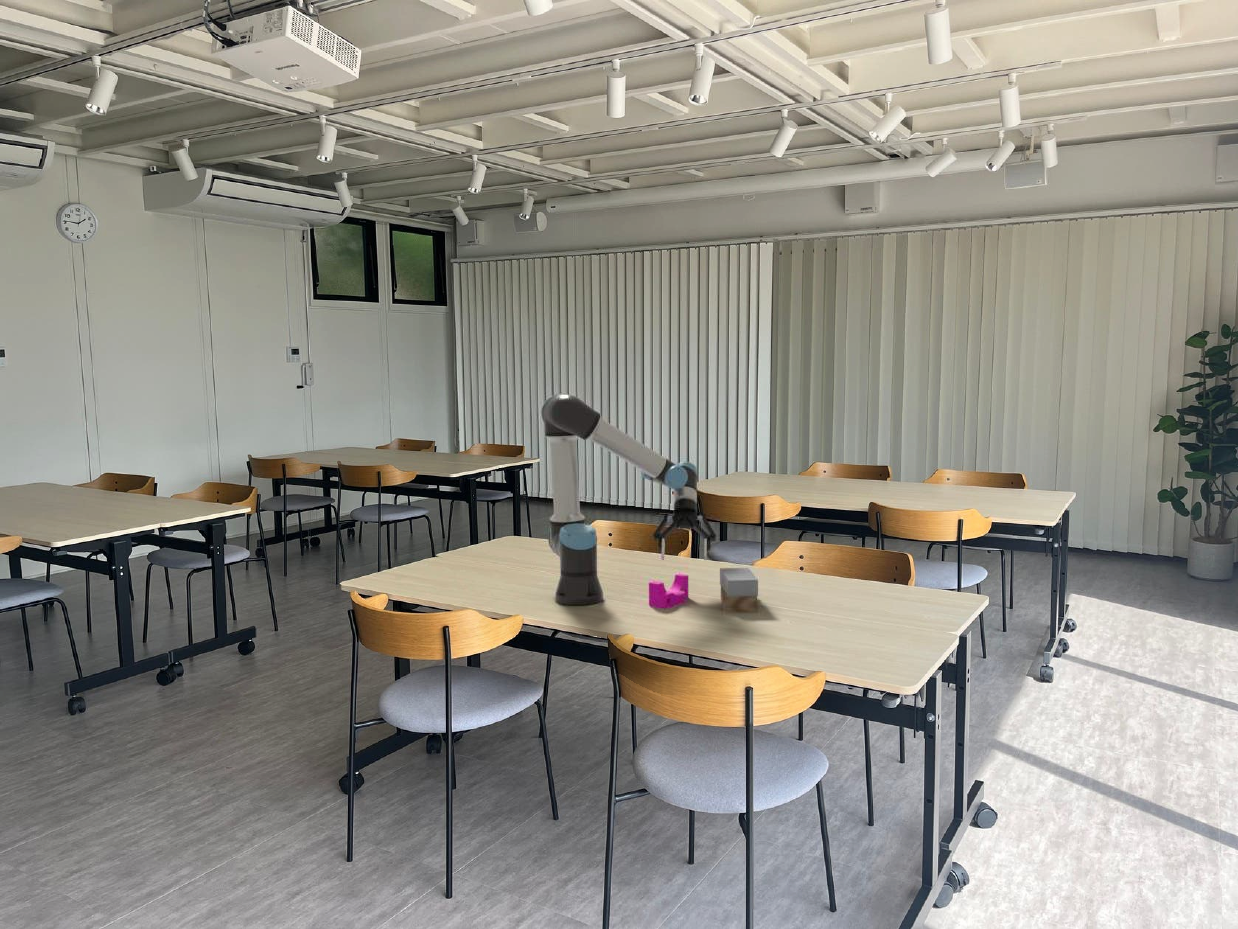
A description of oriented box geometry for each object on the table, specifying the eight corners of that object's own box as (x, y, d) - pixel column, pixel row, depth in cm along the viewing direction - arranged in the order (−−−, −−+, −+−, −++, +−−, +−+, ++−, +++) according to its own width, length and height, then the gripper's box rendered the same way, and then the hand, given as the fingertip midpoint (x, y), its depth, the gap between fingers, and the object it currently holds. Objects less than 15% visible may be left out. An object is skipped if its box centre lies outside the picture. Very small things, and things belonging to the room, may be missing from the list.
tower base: (723, 613, 274) (723, 597, 273) (720, 598, 292) (720, 582, 291) (757, 613, 273) (757, 597, 273) (752, 598, 291) (752, 582, 290)
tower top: (728, 597, 274) (728, 580, 273) (719, 583, 290) (719, 568, 289) (758, 596, 274) (758, 579, 273) (748, 583, 290) (748, 567, 289)
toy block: (664, 609, 278) (664, 585, 277) (649, 606, 282) (648, 582, 281) (694, 599, 289) (694, 576, 288) (679, 596, 293) (679, 573, 292)
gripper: (722, 510, 306) (723, 564, 293) (648, 510, 309) (645, 563, 296) (723, 497, 300) (723, 551, 287) (647, 497, 303) (644, 551, 290)
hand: (684, 558), depth 291 cm, fingers open, 13 cm apart
